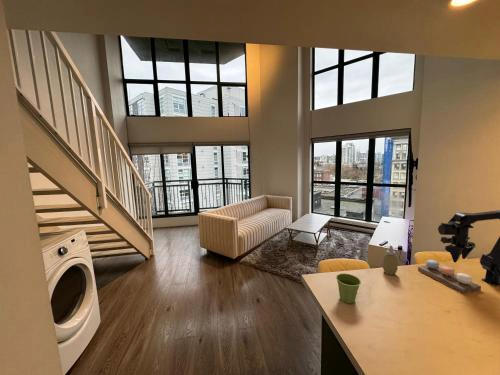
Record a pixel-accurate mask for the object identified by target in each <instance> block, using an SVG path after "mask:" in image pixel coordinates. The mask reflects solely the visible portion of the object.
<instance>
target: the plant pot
mask: <svg viewBox="0 0 500 375" xmlns="http://www.w3.org/2000/svg"><path fill="white" fill-rule="evenodd" d="M335 279H336V281H337V287H338V294H339V298H340V300H341V301H342V302H343V303H346V304H354V303H355V302H356V299H357V295H358V291H359V288H360V286H361V284H362V280H361V279H360V278H359V277H357V276H355V275H353V274H351V273H343V272H342V273H339V274H337V275H336V276H335Z"/></svg>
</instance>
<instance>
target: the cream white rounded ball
mask: <svg viewBox="0 0 500 375" xmlns="http://www.w3.org/2000/svg"><path fill="white" fill-rule="evenodd" d="M456 275H457V281H459V282H461V283H462V284H463V285H466V284H472V282H473V276H471V275H468V274H466V273H461V272H459V273H458V272H457V274H456Z"/></svg>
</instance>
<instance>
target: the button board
mask: <svg viewBox="0 0 500 375" xmlns="http://www.w3.org/2000/svg"><path fill="white" fill-rule="evenodd" d="M417 271H419V272H420V273H423V274H424V275H426V276H428V277H430V278H432V279H434V280H436V281H438V282H440V283H442V284H444V285H446V286H447V287H449V288H451V289H453V290H455V291H457V292H459V293H461V294H469V293H475V292H481V290H482V286H481V285H479V284H477V283H474V282H473V281H472V284H466V285H463V284H462V283H461V282H459V281H457V274H455V273H454V276H449V277H446V276H445V275H444V274H442V273H441V272H440V271H441V266H439V268H438V269H434V270H432V269H431V268H430V267H428V266H426V265H421V266H418V267H417Z"/></svg>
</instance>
